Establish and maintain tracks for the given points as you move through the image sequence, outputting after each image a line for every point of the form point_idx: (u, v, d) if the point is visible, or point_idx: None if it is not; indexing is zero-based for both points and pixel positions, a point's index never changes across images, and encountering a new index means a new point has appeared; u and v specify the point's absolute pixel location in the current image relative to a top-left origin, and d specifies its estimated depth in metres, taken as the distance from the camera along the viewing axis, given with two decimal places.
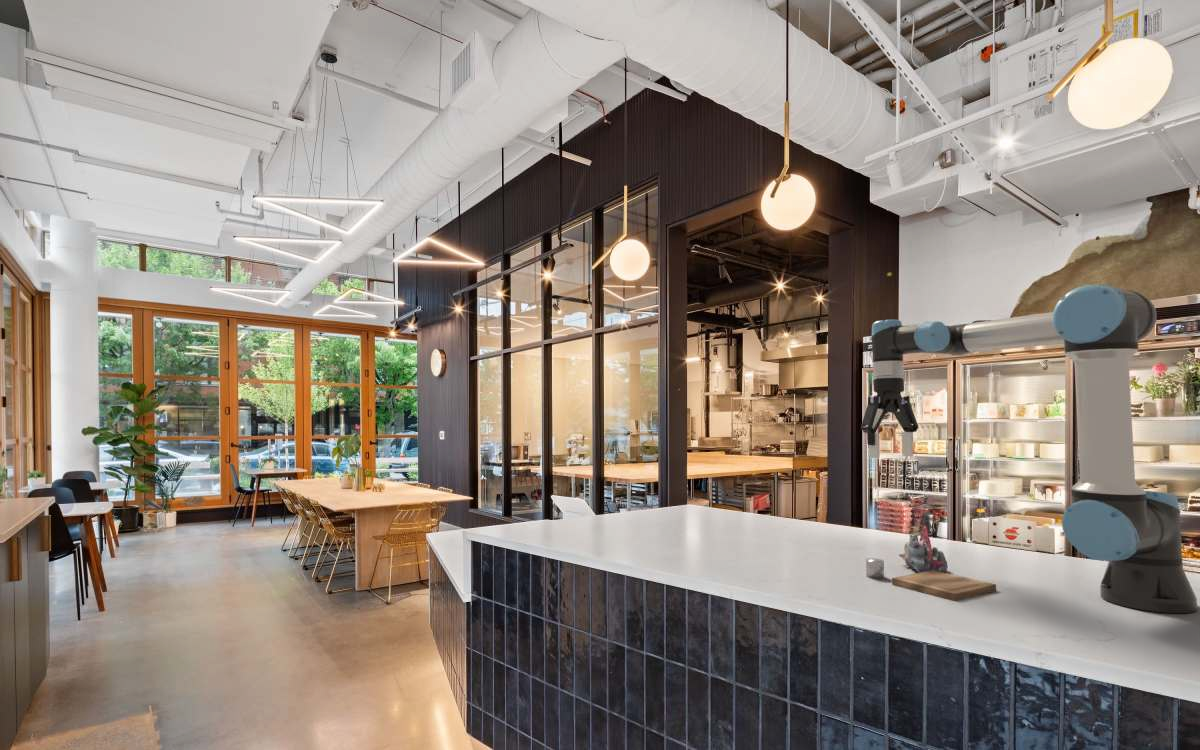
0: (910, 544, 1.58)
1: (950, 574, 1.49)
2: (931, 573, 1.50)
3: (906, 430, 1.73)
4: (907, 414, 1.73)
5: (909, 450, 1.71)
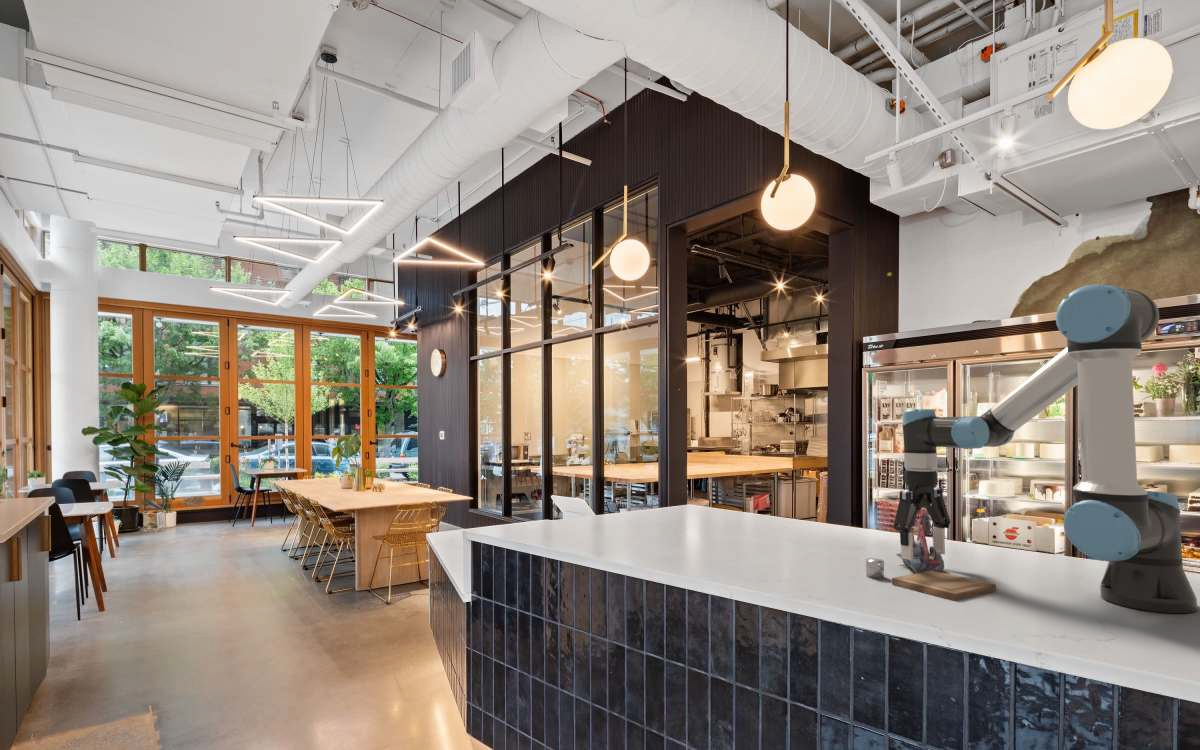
0: None
1: (950, 574, 1.49)
2: (931, 573, 1.50)
3: (937, 525, 1.63)
4: (939, 508, 1.63)
5: (940, 548, 1.61)
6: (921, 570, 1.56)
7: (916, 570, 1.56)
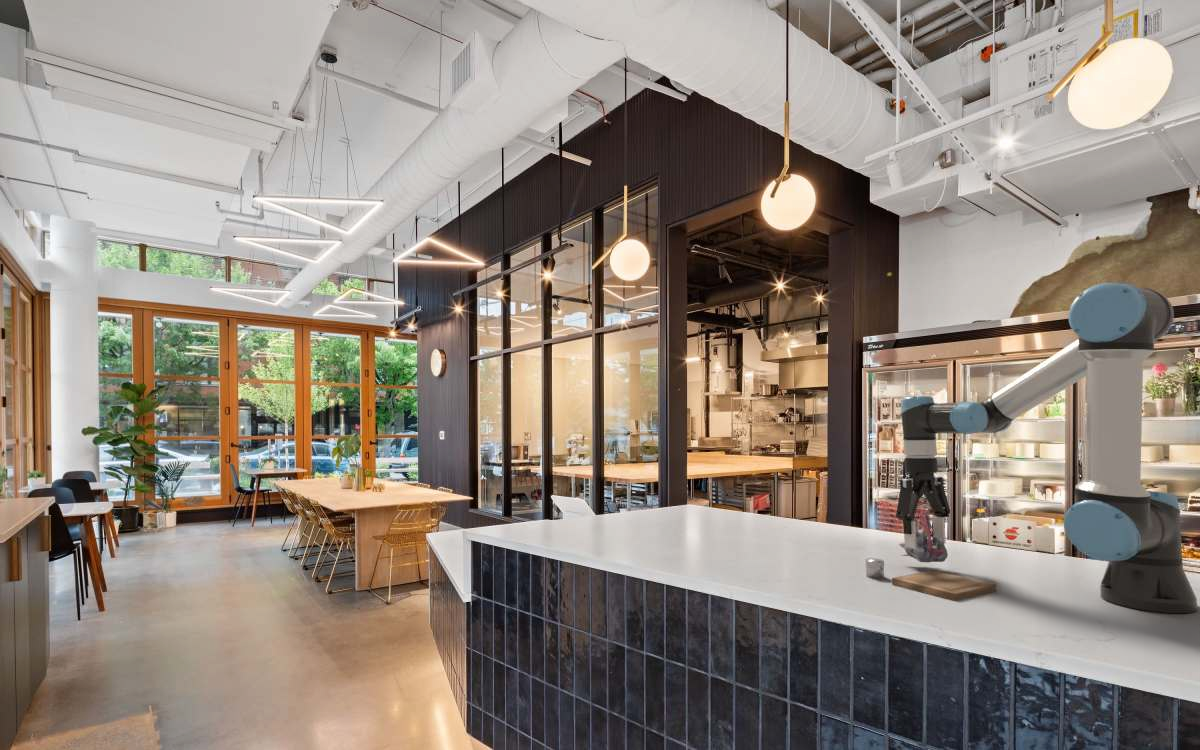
0: None
1: (950, 574, 1.49)
2: (931, 573, 1.50)
3: (937, 514, 1.63)
4: (939, 496, 1.63)
5: (941, 537, 1.61)
6: (924, 559, 1.56)
7: (919, 559, 1.56)
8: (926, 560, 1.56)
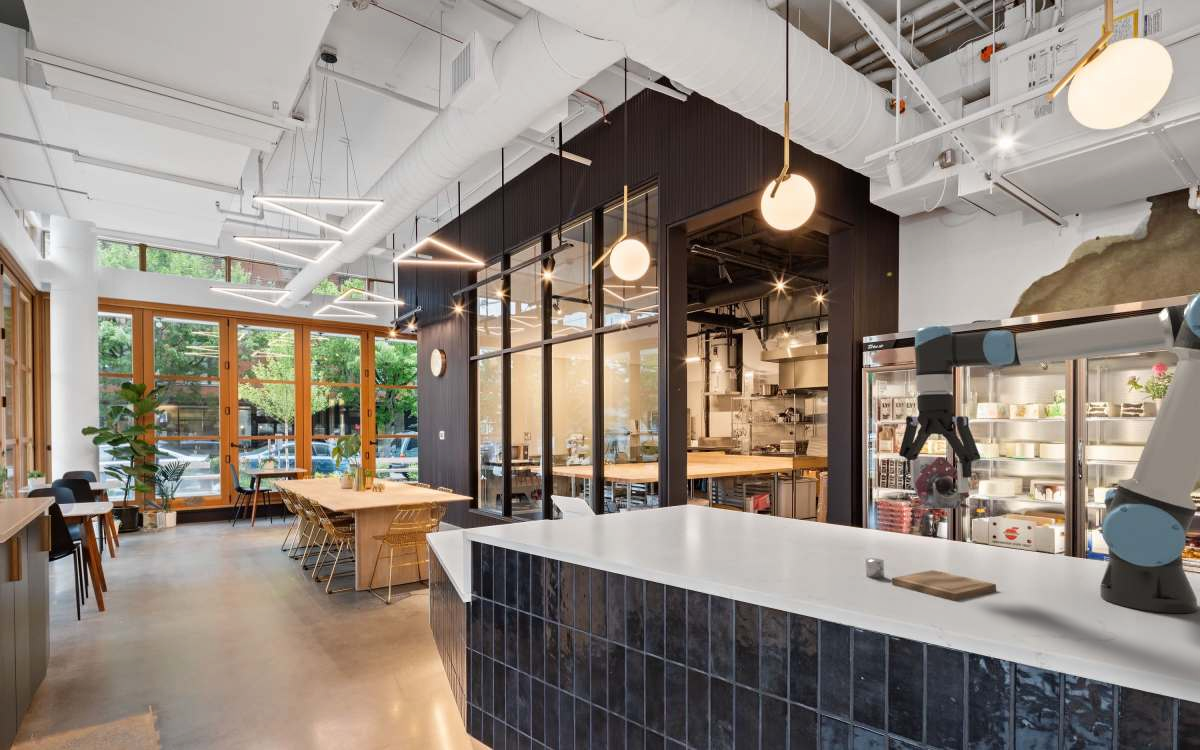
0: None
1: (950, 574, 1.49)
2: (931, 573, 1.50)
3: None
4: None
5: None
6: (922, 501, 1.46)
7: None
8: (923, 503, 1.46)
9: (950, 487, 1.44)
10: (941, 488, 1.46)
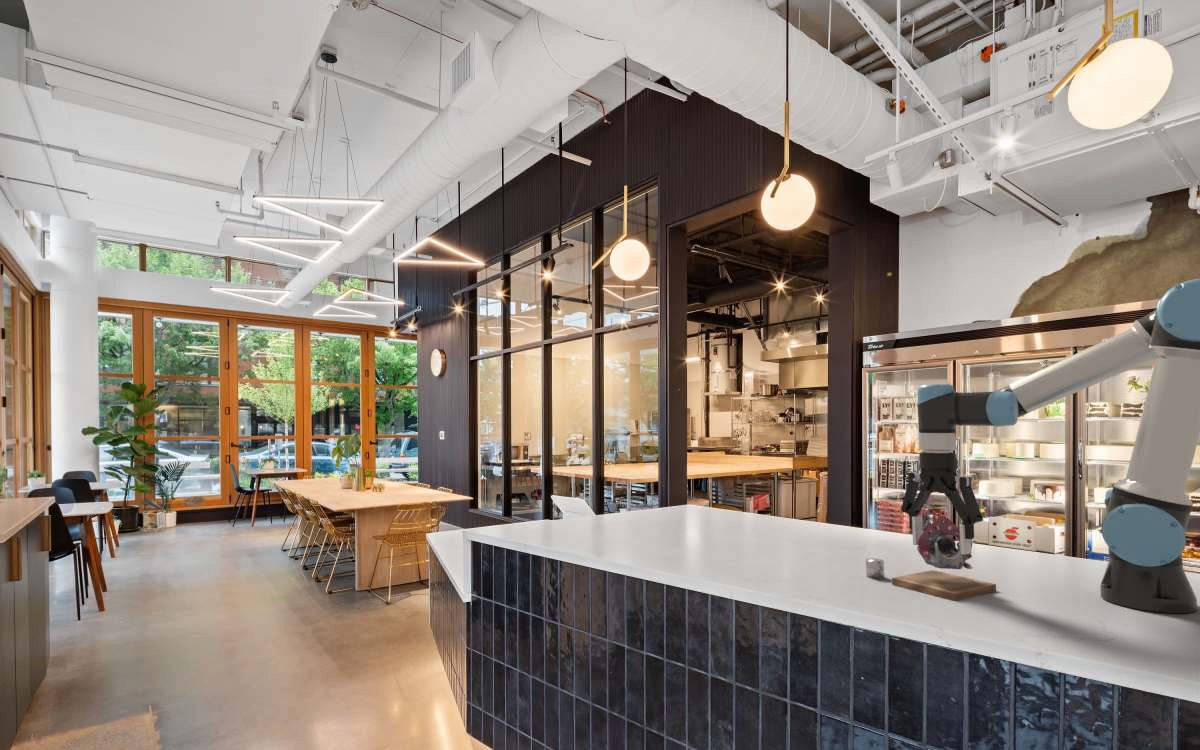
0: None
1: (950, 574, 1.49)
2: (931, 573, 1.50)
3: None
4: None
5: None
6: (924, 559, 1.46)
7: None
8: (925, 561, 1.45)
9: (952, 546, 1.43)
10: (943, 547, 1.45)
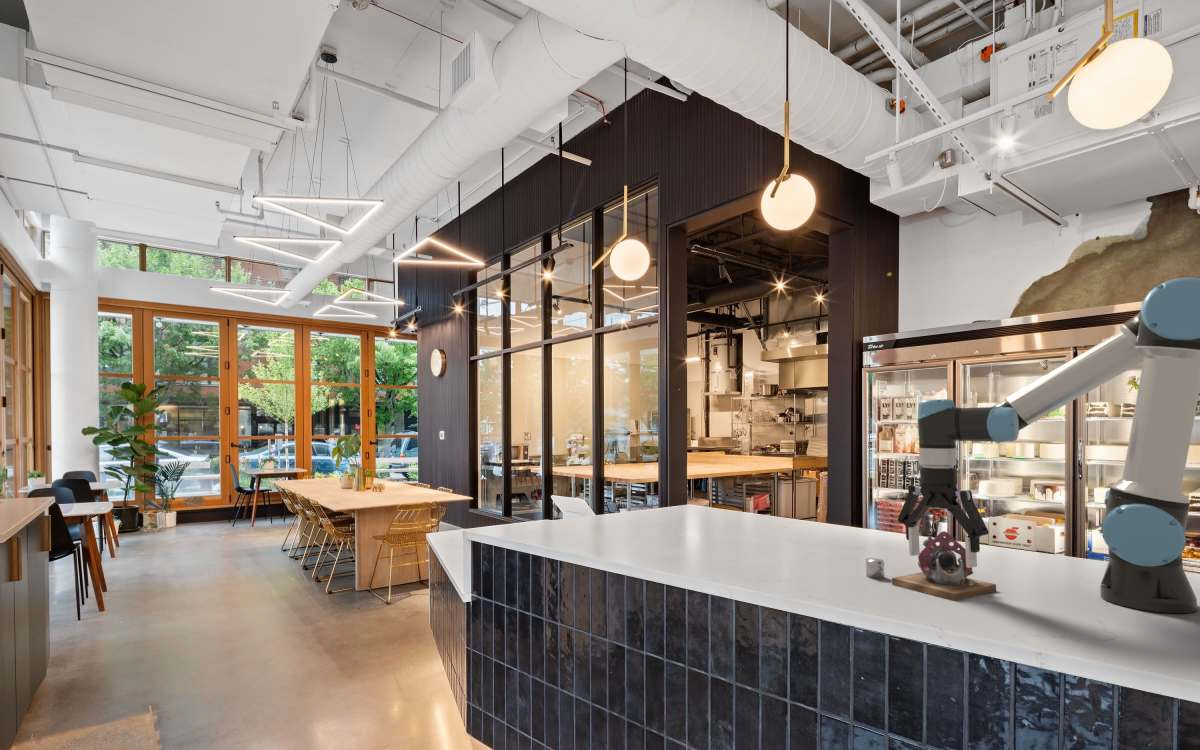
0: None
1: None
2: None
3: None
4: None
5: None
6: (925, 575, 1.45)
7: None
8: (926, 576, 1.45)
9: (953, 562, 1.43)
10: (944, 562, 1.45)
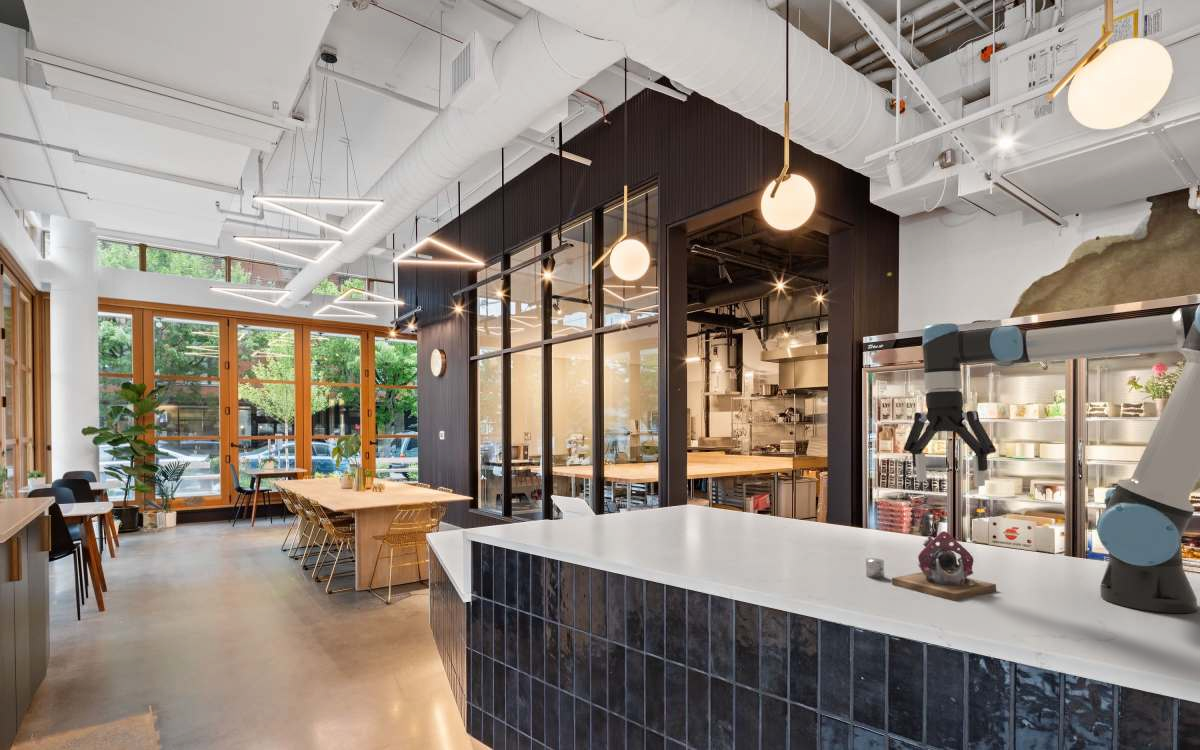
0: None
1: None
2: None
3: None
4: None
5: None
6: (925, 575, 1.45)
7: None
8: (926, 576, 1.45)
9: (953, 562, 1.43)
10: (944, 562, 1.45)
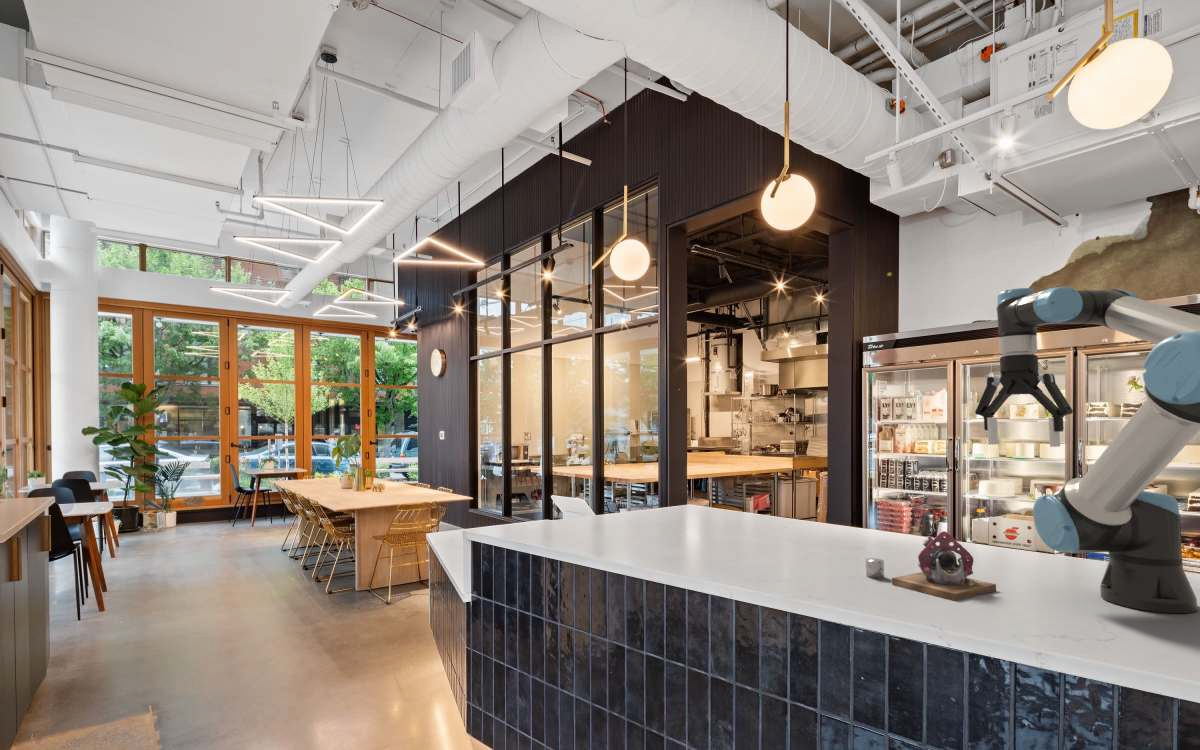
0: None
1: None
2: None
3: None
4: None
5: None
6: (925, 575, 1.45)
7: None
8: (926, 576, 1.45)
9: (953, 562, 1.43)
10: (944, 562, 1.45)
